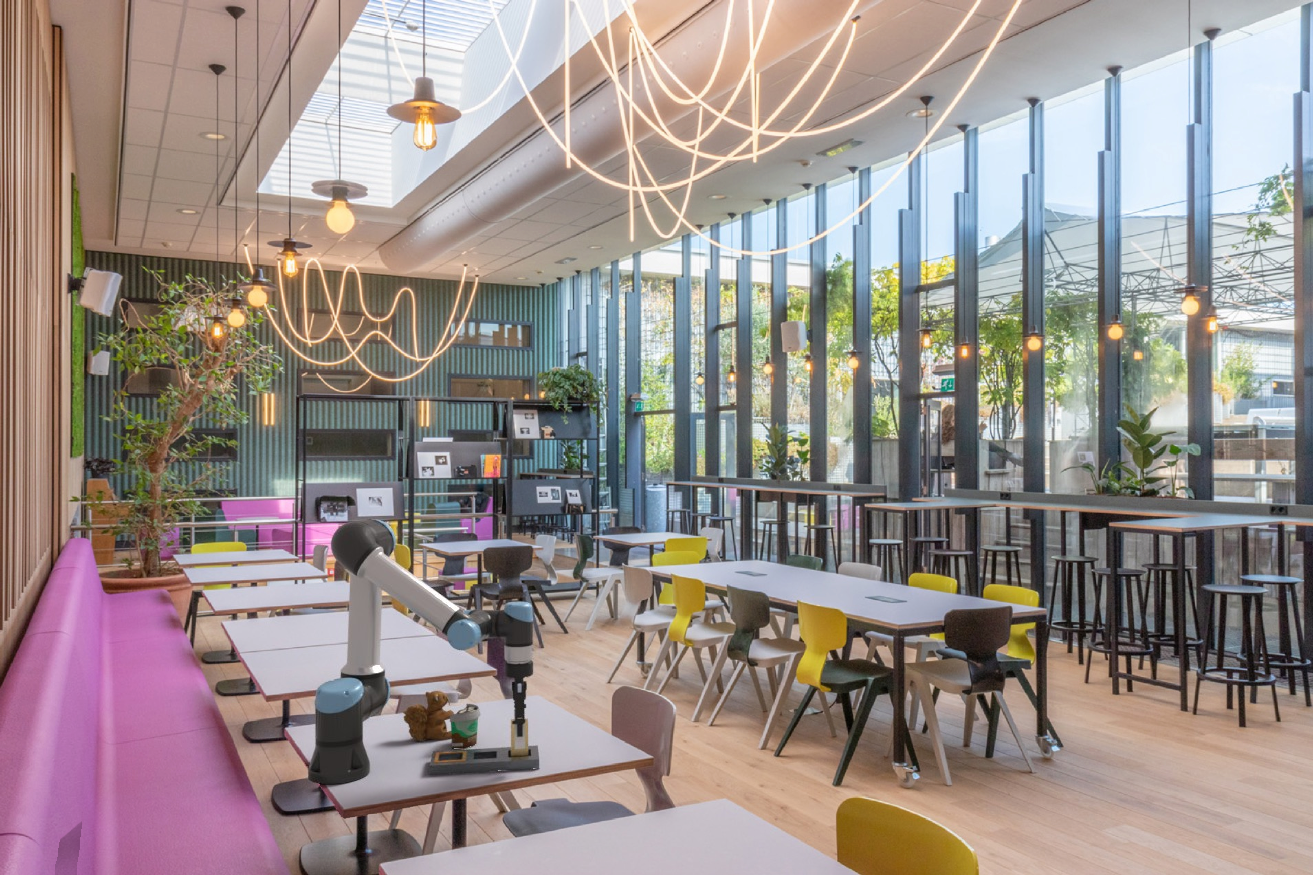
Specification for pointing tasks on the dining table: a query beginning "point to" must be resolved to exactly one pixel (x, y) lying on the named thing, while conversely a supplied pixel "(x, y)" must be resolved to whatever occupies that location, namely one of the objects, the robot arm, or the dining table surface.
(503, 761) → the grey slotted tray
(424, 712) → the stuffed squirrel
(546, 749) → the dining table surface
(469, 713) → the food container
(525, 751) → the brass post
